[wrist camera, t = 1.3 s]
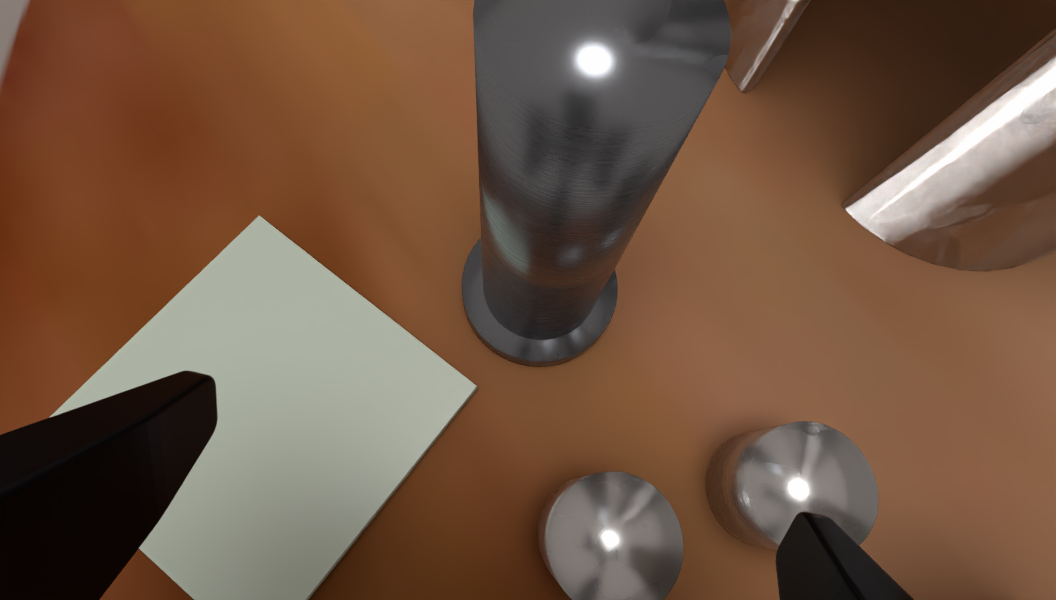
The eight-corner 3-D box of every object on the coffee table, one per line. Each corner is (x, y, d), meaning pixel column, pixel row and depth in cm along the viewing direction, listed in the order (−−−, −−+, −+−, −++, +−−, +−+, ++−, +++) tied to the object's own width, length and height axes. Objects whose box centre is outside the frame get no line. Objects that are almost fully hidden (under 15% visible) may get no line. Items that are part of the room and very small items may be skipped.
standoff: (553, 398, 23) (652, 248, 9) (431, 304, 23) (348, 34, 10) (640, 281, 24) (837, 3, 11) (524, 198, 25) (565, -161, 11)
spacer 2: (778, 571, 21) (841, 588, 17) (684, 499, 22) (725, 500, 18) (830, 477, 22) (900, 475, 19) (740, 412, 23) (789, 395, 19)
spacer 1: (607, 622, 20) (634, 651, 17) (514, 546, 21) (520, 556, 17) (670, 522, 21) (708, 528, 18) (580, 453, 22) (599, 444, 18)
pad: (264, 654, 19) (257, 659, 19) (36, 443, 21) (24, 441, 20) (477, 388, 22) (476, 386, 22) (264, 222, 24) (259, 215, 24)
